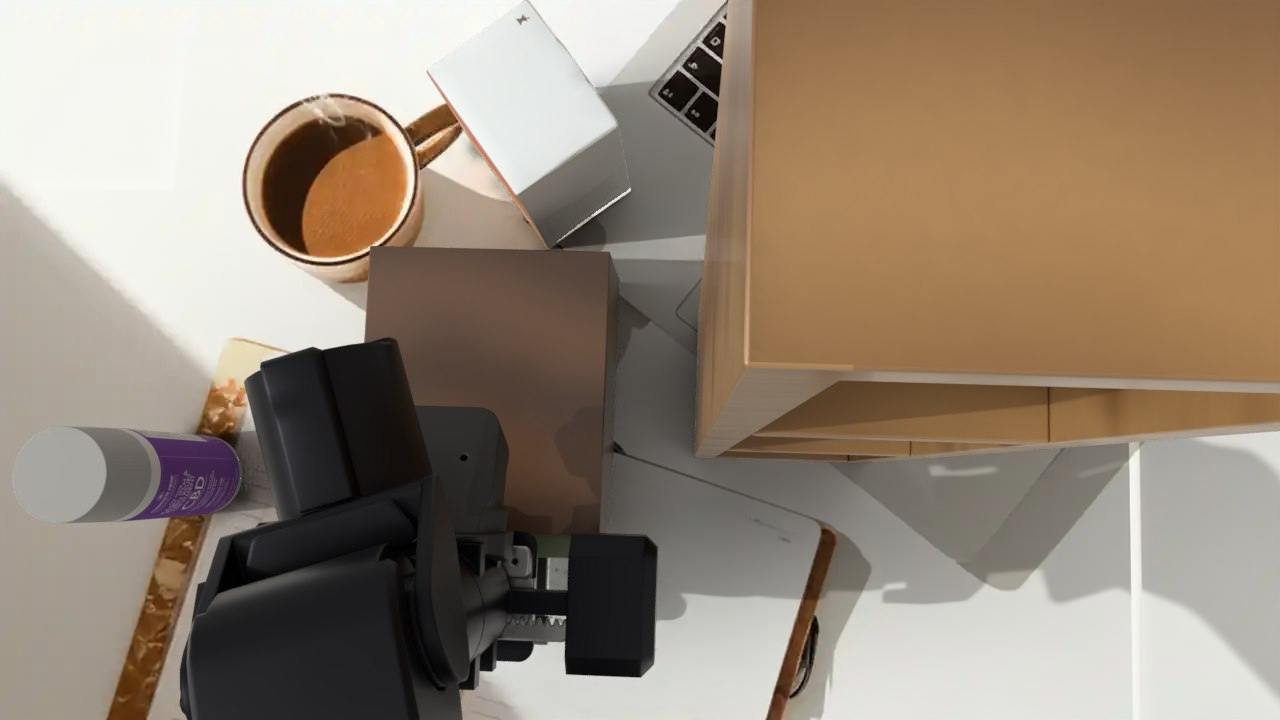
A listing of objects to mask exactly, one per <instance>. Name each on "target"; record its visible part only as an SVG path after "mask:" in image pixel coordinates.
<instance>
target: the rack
mask: <svg viewBox="0 0 1280 720" xmlns="http://www.w3.org/2000/svg"><path fill="white" fill-rule="evenodd" d="M725 19H726V21H725V31H724V42H723V50H722V51H723V52H722V61H721V71H720V72H721V74H720V83H719V93H718V106H717V116H716V126H715V134H714V135H715V136H714V145H713V146H714V147H713V157H712V168H711V177H710V188H709V189H710V190H709V200H708V210H707V220H706V221H707V222H706V229H705V230H706V232H705V242H704V253H703V263H702V274H701V282H700V283H701V284H700V297H699V305H698V306H699V307H698V316H697V333H696V334H698V336H697V335H696V336H697V338H696V339H697V340H696V369H695V370H696V373H695V375H696V376H695V404H694V405H695V411H694V414H695V415H694V443H693V444H694V445H693V457H694V458H705V459H706V458H707V459H714V458H715V459H733V460H734V459H739V460H765V461H767V460H768V461H769V460H770V461H796V462H797V461H798V462H799V461H800V462H824V463H825V462H826V463H827V462H829V463H857V464H858V463H859V464H870V463H882V462H894V461H906V460H909V461H910V460H919V459H921V460H922V459H932V458H935V459H936V458H946V457H958V456H961V457H962V456H973V455H985V454H986V455H987V454H999V453H1013V452H1023V451H1024V452H1025V451H1026V452H1027V451H1038V450H1051V449H1062V448H1063V449H1065V448H1075V447H1076V448H1078V447H1091V446H1102V445H1103V446H1104V445H1115V444H1129V443H1141V442H1142V443H1143V442H1155V441H1156V442H1157V441H1169V440H1183V439H1194V438H1195V439H1196V438H1209V437H1221V436H1233V435H1246V434H1259V433H1272V432H1273V433H1274V432H1280V0H727V10H726V18H725Z"/></svg>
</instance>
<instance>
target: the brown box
mask: <svg viewBox="0 0 1280 720" xmlns="http://www.w3.org/2000/svg"><path fill="white" fill-rule="evenodd" d="M367 273H368V274H367V287H366V307H365V308H366V309H365V320H364V321H365V322H364V323H365V324H364V338H363V339H364V340H363V343H366V342H372V341H375V340H378V339H382V338H387V337H391V338H394V339H396V340H397V342H398V345H399V349H400V352H401V356H402V360H403V363H404V367H405V371H406V375H407V378H408V382H409V386H410V389H411V393H412V397H413V401H414V404H415V405H426V406H459V407H482V408H486V409H489V410H491V411H492V412H493V413H494V414H495V415H496V416H497V417H498V419H499V422H500V425H501V428H502V430H503V433H504V436H505V439H506V441H507V444H508V447H509V461H508V465H507V473H506V483H505V492H504V502H503V505H504V506H505V507H506V508H507V526H506V530H510V531H524V532H528V533H530V534H536V535H563V536H571V534H572V533H589V532H593V533H608V531H610V530H611V528H612V513H613V485H614V483H613V481H614V461H615V460H614V458H615V455H614V454H615V428H616V427H615V426H616V405H617V403H616V401H617V375H618V373H617V372H618V349H619V347H618V345H619V343H618V342H619V320H620V317H619V316H620V294H621V293H620V291H621V290H620V288H621V287H620V288H619V282H620V278H619V275H618V272H617V268H616V266H615V262H614V260H613V257H612V253H611V252H610V251H600V250H596V251H595V250H559V249H558V250H557V249H556V250H555V249H517V248H516V249H513V248H512V249H511V248H480V247H479V248H478V247H477V248H474V247H472V248H471V247H439V246H438V247H436V246H435V247H434V246H432V247H431V246H397V245H396V246H394V245H393V246H392V245H370V247H369V257H368V272H367Z"/></svg>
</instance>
